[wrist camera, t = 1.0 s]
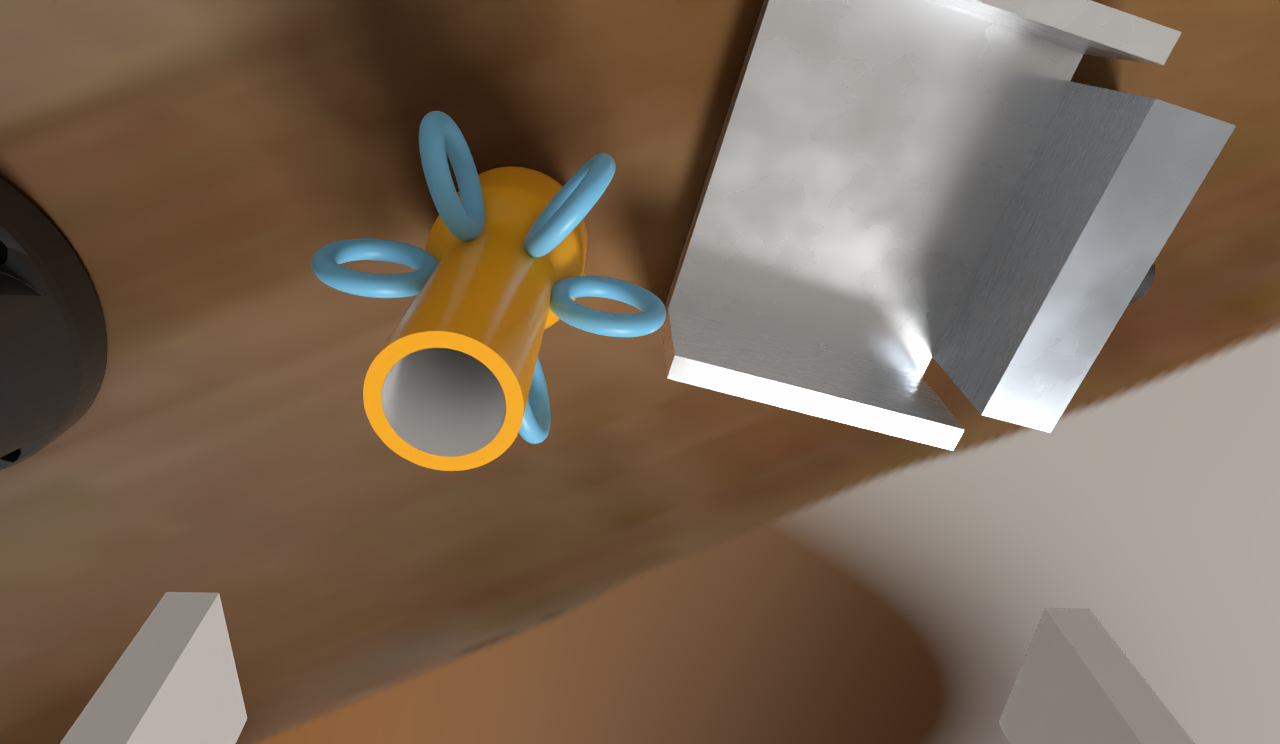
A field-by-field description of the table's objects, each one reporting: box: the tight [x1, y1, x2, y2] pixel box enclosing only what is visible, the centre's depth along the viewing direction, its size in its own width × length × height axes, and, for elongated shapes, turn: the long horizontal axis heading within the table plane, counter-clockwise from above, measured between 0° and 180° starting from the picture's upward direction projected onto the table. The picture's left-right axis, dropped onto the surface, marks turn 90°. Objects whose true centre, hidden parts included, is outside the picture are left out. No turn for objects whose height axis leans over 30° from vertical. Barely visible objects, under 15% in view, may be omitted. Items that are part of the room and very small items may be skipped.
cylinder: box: [312, 111, 666, 471], centre depth 26 cm, size 12×10×15 cm
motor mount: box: [661, 0, 1236, 451], centre depth 30 cm, size 17×16×6 cm
